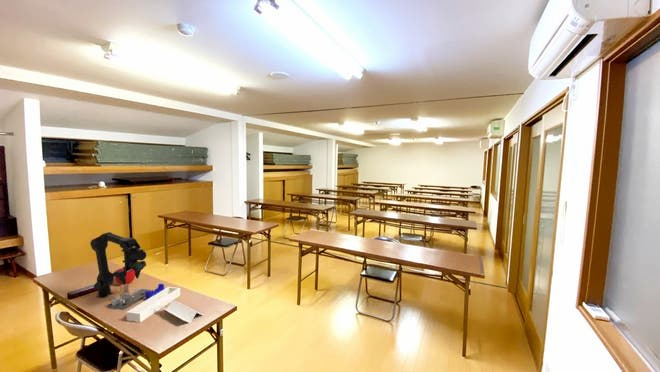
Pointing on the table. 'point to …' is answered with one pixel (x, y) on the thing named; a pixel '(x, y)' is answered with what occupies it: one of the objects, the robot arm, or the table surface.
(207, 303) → the table surface
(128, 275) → the ceramic cup
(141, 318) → the block frame
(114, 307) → the plate
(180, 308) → the z bracket
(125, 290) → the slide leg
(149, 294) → the cable clip
